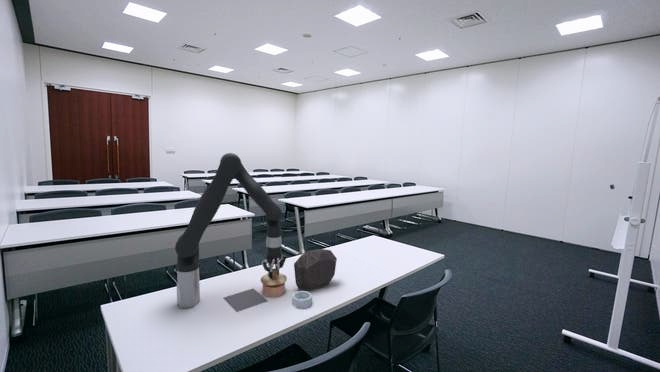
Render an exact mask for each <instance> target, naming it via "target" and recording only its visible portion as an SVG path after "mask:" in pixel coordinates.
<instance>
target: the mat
mask: <svg viewBox="0 0 660 372" xmlns="http://www.w3.org/2000/svg"><path fill="white" fill-rule="evenodd" d="M223 300H225V302H226V303H227V304H228V305H229V306H230V307H231V308H232V309H233V310H234V311H235V312H236V313H239V312H241V311H244V310H247V309H250V308H253V307H257V306H258V305H261V304H264V303H267V302H269V300H268V299H267V298H266V297H265V296H264V295H262V294H261V293H260V292H258V291H257V290H256V289H255V288H250V289H247V290H244V291H239V292H237V293H233V294H231V295H228V296H227V295H226V296H224V297H223Z"/></svg>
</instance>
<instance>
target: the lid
mask: <svg viewBox="0 0 660 372" xmlns="http://www.w3.org/2000/svg"><path fill="white" fill-rule="evenodd" d="M287 279H288V278H287V275H285V274H283V273H281V272H279V275H278V270H277V269H276V268H274V267H273V270H272V279H271V278H269V277H268V273H266V274H264V275H262V277H260V282H261V284H262V285H263V284H265V285H269V286H276V285H280V284H283V283H286V282H287Z"/></svg>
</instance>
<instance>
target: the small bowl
mask: <svg viewBox="0 0 660 372" xmlns="http://www.w3.org/2000/svg"><path fill="white" fill-rule="evenodd" d="M312 304H313V294H312V293H310V292H309V291H308V290H307V291H306V290H299V291H296V292H293V294H292V297H291V305H292V306H294V307H295V308H297V309H302V310H303V309H307V308H310V307H312Z"/></svg>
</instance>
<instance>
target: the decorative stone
mask: <svg viewBox="0 0 660 372" xmlns="http://www.w3.org/2000/svg"><path fill="white" fill-rule="evenodd" d="M336 266H337V257H336V256H335V254H334V253H333V252H332V250H331V249H325V248H317V249H313V250H312V249H311V250H306V251H304V252H303V253H302V254H301V255H300V256H299V257H298V259H297V260H296V261H295V262H294V263H293V268H294V269H293V270H294V278H295V285H296V287H297V289H299V290H305V291H306V290H307V291H308V290H309V291H312V290H317V289H320V288H323V287H326V286H327V287H328V286H329V285H330V284H331V281H332V280H333V278H334V276H335V274H336Z"/></svg>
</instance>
